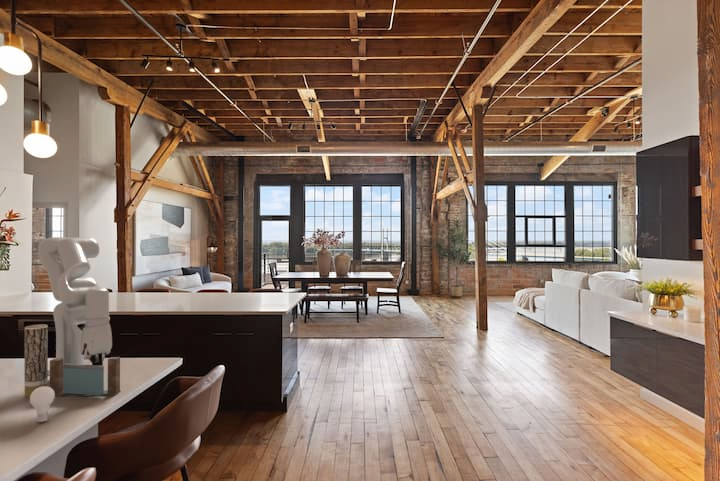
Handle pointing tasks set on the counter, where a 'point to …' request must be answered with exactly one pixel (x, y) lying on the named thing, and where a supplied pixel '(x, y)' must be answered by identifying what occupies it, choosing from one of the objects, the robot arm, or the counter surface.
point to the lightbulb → (42, 401)
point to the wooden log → (36, 357)
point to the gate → (83, 379)
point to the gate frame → (57, 386)
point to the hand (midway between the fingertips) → (97, 372)
